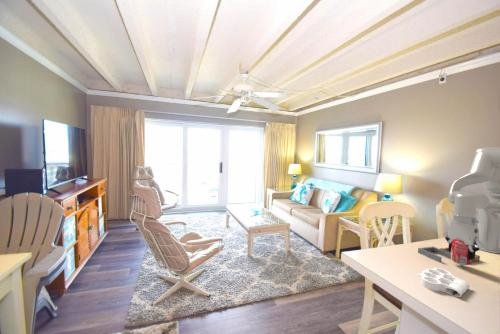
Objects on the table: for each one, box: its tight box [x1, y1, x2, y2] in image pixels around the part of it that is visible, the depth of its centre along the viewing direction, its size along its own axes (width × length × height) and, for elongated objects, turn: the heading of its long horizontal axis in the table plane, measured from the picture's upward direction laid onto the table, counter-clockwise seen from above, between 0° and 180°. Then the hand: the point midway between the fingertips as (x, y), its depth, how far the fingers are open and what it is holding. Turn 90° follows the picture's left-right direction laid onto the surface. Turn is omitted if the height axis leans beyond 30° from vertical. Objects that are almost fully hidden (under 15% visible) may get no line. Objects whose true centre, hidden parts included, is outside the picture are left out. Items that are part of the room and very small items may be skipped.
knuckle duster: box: [417, 267, 471, 298], centre depth 89 cm, size 3×18×15 cm
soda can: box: [450, 238, 472, 266], centre depth 104 cm, size 7×7×12 cm
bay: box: [417, 246, 451, 263], centre depth 114 cm, size 11×11×2 cm
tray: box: [439, 246, 481, 263], centre depth 115 cm, size 11×11×2 cm
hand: (460, 255), depth 104 cm, fingers closed on soda can, 7 cm apart
